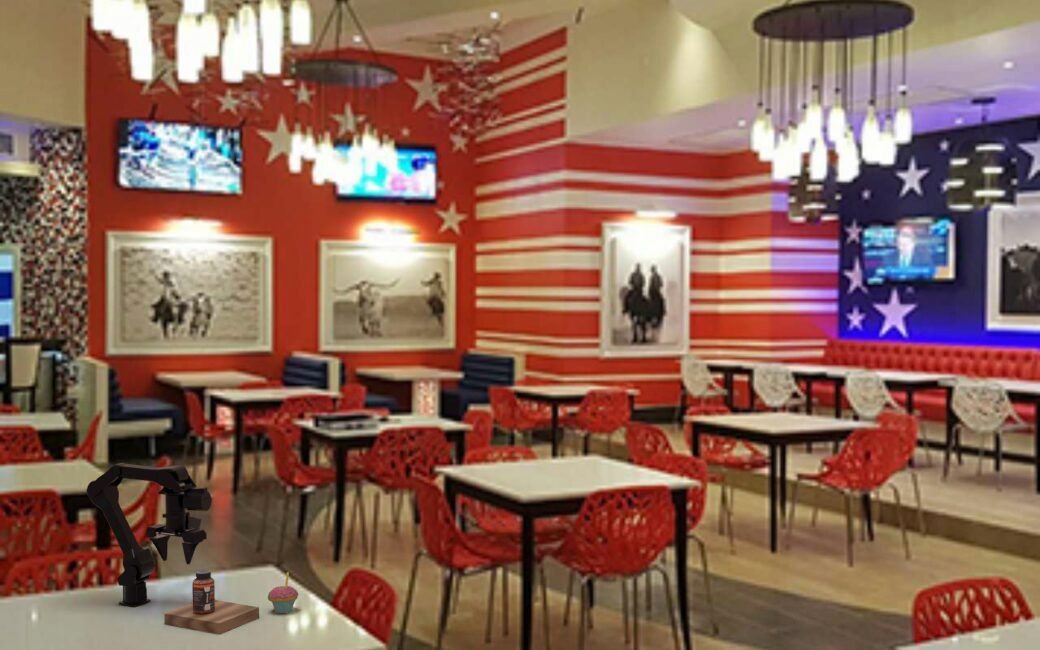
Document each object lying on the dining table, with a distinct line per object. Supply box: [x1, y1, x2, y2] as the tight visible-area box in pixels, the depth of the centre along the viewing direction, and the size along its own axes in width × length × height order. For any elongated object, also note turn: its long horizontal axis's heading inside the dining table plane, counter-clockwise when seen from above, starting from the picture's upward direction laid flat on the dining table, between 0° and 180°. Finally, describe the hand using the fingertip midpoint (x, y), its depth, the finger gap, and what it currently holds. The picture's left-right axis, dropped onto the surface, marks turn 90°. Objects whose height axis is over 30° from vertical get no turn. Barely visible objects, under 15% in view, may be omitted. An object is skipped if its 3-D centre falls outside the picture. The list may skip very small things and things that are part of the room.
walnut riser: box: [163, 599, 260, 635], centre depth 300 cm, size 20×16×3 cm
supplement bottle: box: [191, 569, 216, 614], centre depth 299 cm, size 6×6×11 cm
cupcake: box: [267, 570, 299, 614], centre depth 309 cm, size 9×8×12 cm
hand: (176, 562), depth 314 cm, fingers open, 9 cm apart
